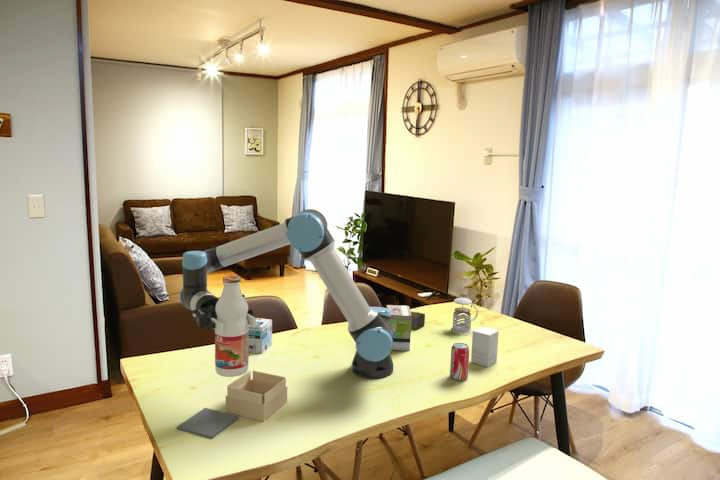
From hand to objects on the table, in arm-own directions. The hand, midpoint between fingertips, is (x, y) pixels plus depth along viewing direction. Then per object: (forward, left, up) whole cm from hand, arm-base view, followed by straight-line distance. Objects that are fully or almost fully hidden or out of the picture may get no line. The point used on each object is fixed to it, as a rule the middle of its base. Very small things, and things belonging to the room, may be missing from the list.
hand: (238, 325), depth 141 cm
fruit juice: (+4, -2, -15) cm, 16 cm away
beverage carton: (-17, -104, -29) cm, 109 cm away
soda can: (-52, -56, -28) cm, 82 cm away
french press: (-44, -107, -28) cm, 120 cm away
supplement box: (-58, -74, -28) cm, 99 cm away
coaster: (+7, +6, -28) cm, 29 cm away
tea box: (-22, -78, -28) cm, 86 cm away
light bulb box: (+26, -49, -28) cm, 62 cm away
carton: (0, -8, -28) cm, 29 cm away
